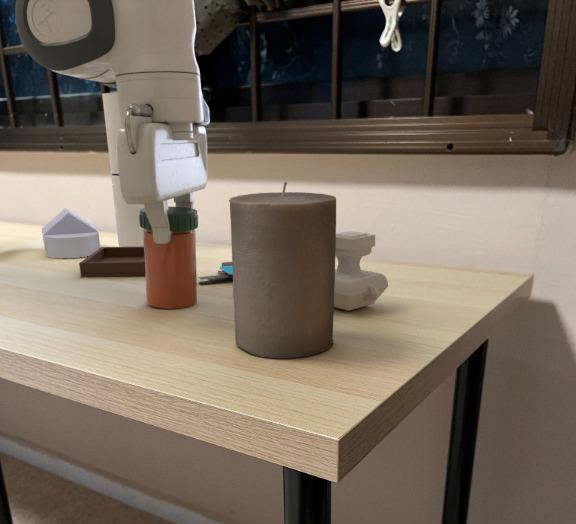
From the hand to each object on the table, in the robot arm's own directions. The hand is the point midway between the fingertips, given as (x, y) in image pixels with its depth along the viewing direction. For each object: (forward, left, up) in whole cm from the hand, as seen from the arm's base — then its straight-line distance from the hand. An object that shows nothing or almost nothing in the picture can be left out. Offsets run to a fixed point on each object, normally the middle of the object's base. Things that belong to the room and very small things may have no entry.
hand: (174, 237), depth 71 cm
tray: (-10, +22, -8) cm, 26 cm away
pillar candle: (+12, -16, -8) cm, 21 cm away
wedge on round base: (-23, +36, -8) cm, 44 cm away
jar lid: (0, 0, +3) cm, 3 cm away
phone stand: (+11, +13, -8) cm, 19 cm away
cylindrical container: (-12, +39, -8) cm, 42 cm away
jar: (-1, 0, -8) cm, 8 cm away
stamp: (+20, -3, -8) cm, 22 cm away
